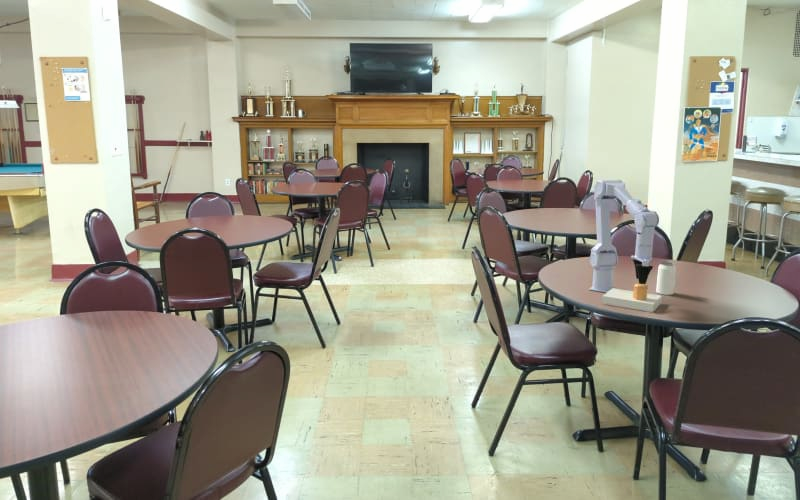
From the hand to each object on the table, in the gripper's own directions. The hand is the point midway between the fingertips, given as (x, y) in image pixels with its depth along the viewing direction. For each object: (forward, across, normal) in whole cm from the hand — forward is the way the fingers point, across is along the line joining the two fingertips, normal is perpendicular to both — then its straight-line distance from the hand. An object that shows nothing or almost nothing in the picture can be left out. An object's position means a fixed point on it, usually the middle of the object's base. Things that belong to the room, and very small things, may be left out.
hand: (640, 281), depth 230 cm
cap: (+6, 0, 0) cm, 6 cm away
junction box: (+9, -3, -2) cm, 10 cm away
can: (+10, -22, +12) cm, 27 cm away
